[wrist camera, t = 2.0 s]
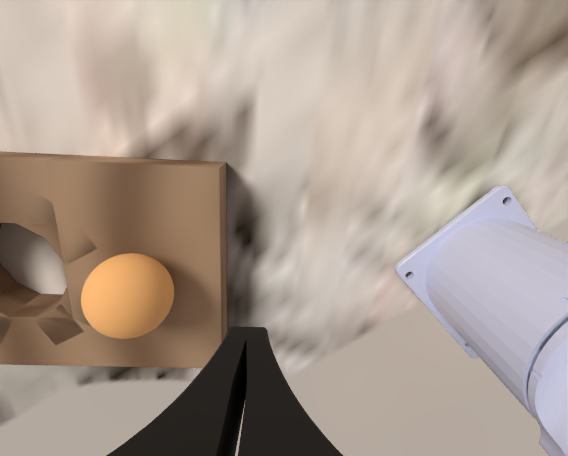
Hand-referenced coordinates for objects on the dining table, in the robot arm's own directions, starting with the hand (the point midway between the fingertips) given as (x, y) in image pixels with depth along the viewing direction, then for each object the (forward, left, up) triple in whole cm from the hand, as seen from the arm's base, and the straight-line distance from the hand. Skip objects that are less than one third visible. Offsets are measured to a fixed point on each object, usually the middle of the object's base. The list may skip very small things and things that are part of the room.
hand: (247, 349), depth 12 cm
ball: (+4, +4, -4) cm, 7 cm away
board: (+7, +7, -8) cm, 13 cm away
